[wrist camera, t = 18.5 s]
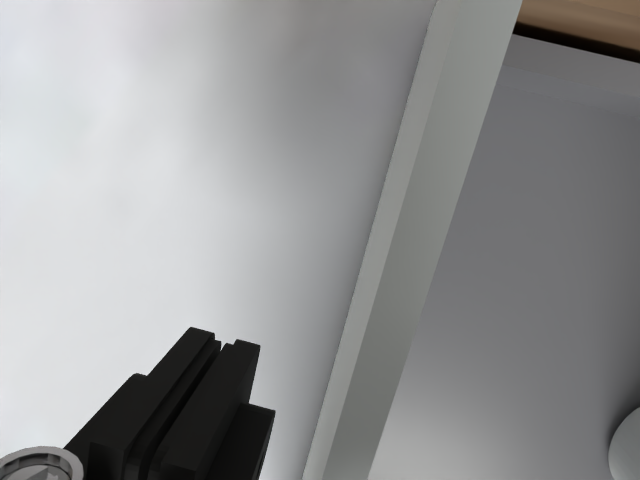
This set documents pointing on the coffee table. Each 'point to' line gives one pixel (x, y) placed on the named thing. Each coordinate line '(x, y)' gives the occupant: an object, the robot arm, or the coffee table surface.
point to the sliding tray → (495, 268)
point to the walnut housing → (584, 25)
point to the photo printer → (626, 449)
